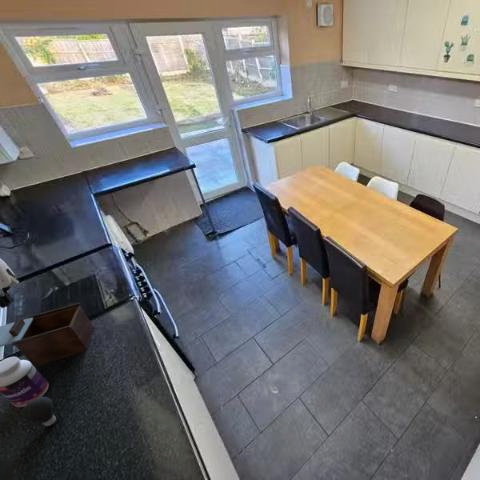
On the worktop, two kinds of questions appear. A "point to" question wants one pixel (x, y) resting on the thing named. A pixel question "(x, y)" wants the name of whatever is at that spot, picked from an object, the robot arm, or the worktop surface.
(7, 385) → the pill bottle
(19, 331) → the glass lid
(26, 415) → the light bulb
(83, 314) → the display box
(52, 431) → the worktop surface
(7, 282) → the robot arm
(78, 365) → the worktop surface
